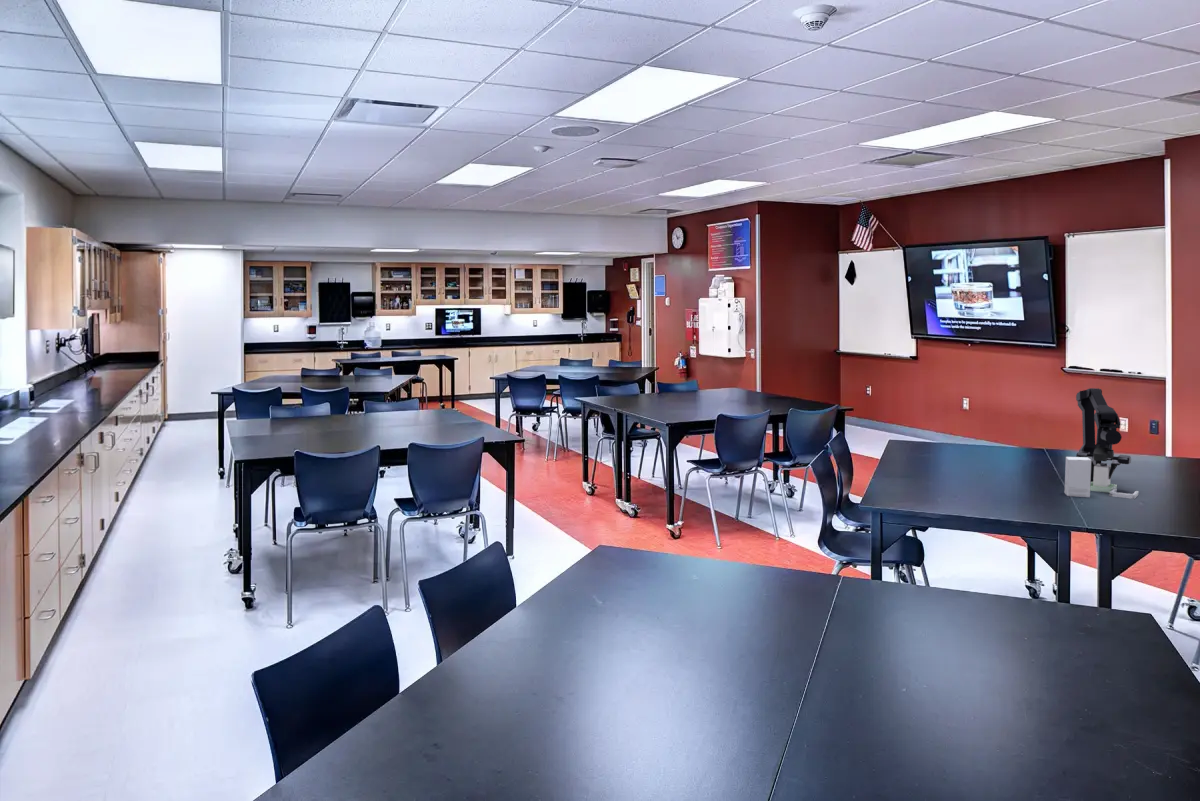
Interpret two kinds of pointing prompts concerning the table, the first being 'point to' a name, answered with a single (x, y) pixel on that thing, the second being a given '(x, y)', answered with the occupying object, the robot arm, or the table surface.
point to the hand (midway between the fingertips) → (1102, 478)
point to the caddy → (1101, 475)
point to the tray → (1102, 488)
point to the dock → (1123, 494)
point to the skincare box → (1077, 476)
